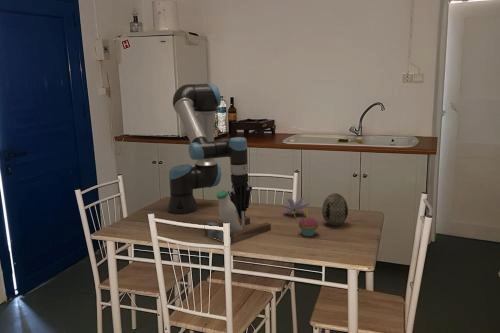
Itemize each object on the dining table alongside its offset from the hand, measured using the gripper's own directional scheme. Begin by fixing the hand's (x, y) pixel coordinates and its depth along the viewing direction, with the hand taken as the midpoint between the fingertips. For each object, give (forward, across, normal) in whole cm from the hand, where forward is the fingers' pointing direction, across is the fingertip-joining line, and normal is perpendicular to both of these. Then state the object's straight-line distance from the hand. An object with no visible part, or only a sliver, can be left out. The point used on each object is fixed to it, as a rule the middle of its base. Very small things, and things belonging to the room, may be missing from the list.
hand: (241, 225), depth 200 cm
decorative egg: (+4, +36, -25) cm, 44 cm away
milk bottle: (+2, -4, 0) cm, 5 cm away
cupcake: (+4, +18, -24) cm, 30 cm away
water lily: (+4, +34, -2) cm, 35 cm away
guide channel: (+3, -2, 0) cm, 4 cm away
